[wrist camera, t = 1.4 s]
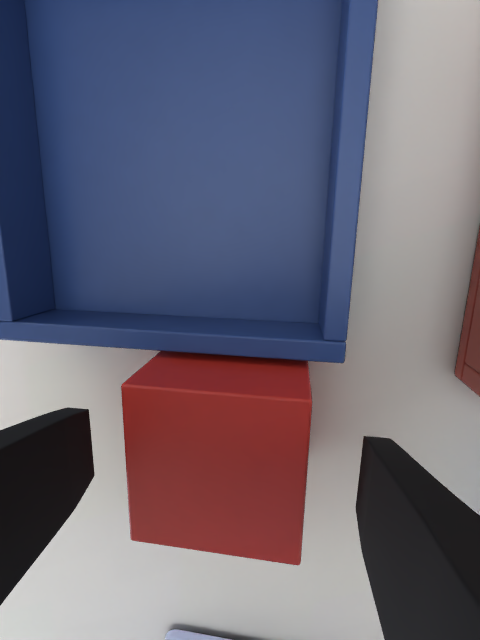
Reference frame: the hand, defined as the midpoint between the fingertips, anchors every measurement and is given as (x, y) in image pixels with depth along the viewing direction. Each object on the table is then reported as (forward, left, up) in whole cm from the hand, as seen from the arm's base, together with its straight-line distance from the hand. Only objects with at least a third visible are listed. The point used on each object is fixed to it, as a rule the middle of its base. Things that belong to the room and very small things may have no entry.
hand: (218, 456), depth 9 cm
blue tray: (+8, +2, -4) cm, 9 cm away
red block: (0, 0, -4) cm, 4 cm away
